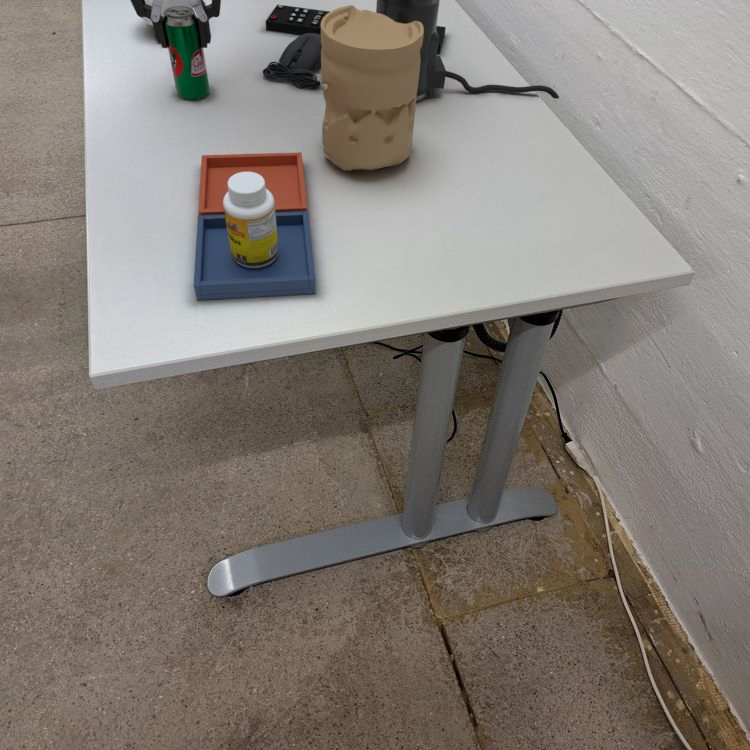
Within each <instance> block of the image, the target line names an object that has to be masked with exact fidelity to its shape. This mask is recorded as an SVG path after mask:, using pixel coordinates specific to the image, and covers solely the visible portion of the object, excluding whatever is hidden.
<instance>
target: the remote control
mask: <svg viewBox="0 0 750 750" xmlns="http://www.w3.org/2000/svg"><path fill="white" fill-rule="evenodd" d="M329 12H331V11H328V10H321V9H314V8H306V7H299V6H291V5H285V4H276V5H275V7H274V8H273V10H272V11H271V12H270V14H269V16H268V17H267V18H266V20H265V31H267V32H274V33H281V34H289V35H296V36H301V35H303V34H306V33H314V34H319V35H321V21H322V19H323V17H324V16H325V15H326V14H328V13H329ZM446 28H447V27H446V26H439V25H437V27H436V31H437V34H438V36H439V41H438V49H437V55H440V54H441V51H442V48H443V44H444V40H445V36H446Z"/></svg>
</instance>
